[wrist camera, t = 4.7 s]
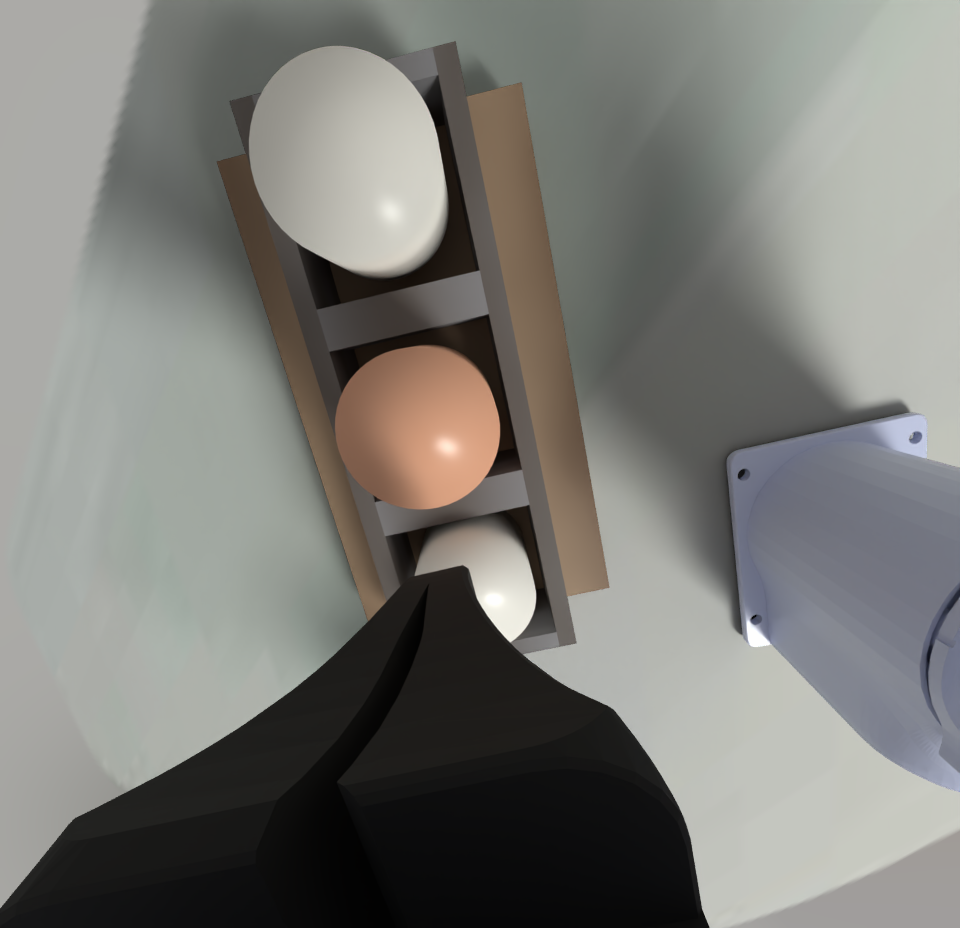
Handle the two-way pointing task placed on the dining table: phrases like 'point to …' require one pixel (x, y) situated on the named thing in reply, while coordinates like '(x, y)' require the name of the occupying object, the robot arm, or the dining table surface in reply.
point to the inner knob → (486, 565)
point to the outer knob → (350, 162)
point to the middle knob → (418, 426)
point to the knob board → (451, 323)
